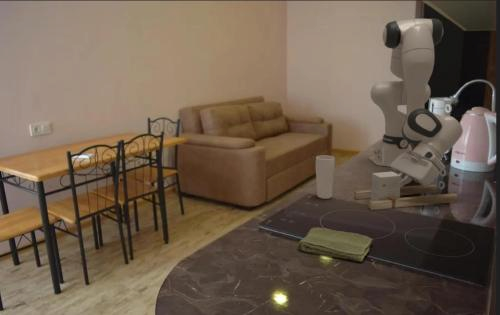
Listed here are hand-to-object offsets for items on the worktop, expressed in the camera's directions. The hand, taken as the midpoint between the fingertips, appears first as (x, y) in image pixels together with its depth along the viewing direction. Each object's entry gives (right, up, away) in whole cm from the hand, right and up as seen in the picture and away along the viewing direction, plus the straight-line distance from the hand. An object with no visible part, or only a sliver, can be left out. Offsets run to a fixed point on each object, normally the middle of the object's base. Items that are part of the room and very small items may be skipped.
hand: (397, 185), depth 140 cm
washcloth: (-29, -15, -33) cm, 46 cm away
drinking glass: (-24, -5, +6) cm, 26 cm away
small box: (-5, -6, -1) cm, 8 cm away
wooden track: (+3, -5, +2) cm, 6 cm away
